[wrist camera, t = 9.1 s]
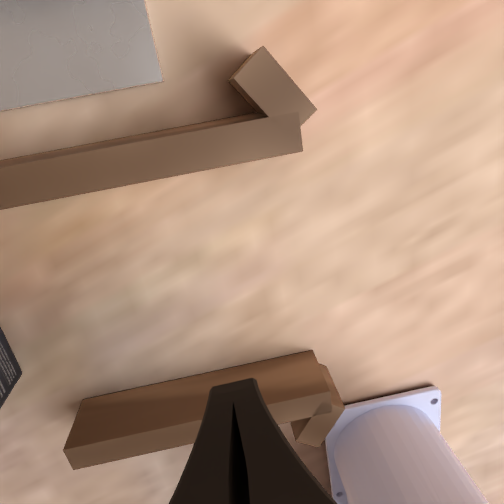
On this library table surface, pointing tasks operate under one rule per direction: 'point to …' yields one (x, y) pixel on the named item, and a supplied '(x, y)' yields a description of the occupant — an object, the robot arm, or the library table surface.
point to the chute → (163, 166)
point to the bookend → (73, 49)
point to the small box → (7, 369)
